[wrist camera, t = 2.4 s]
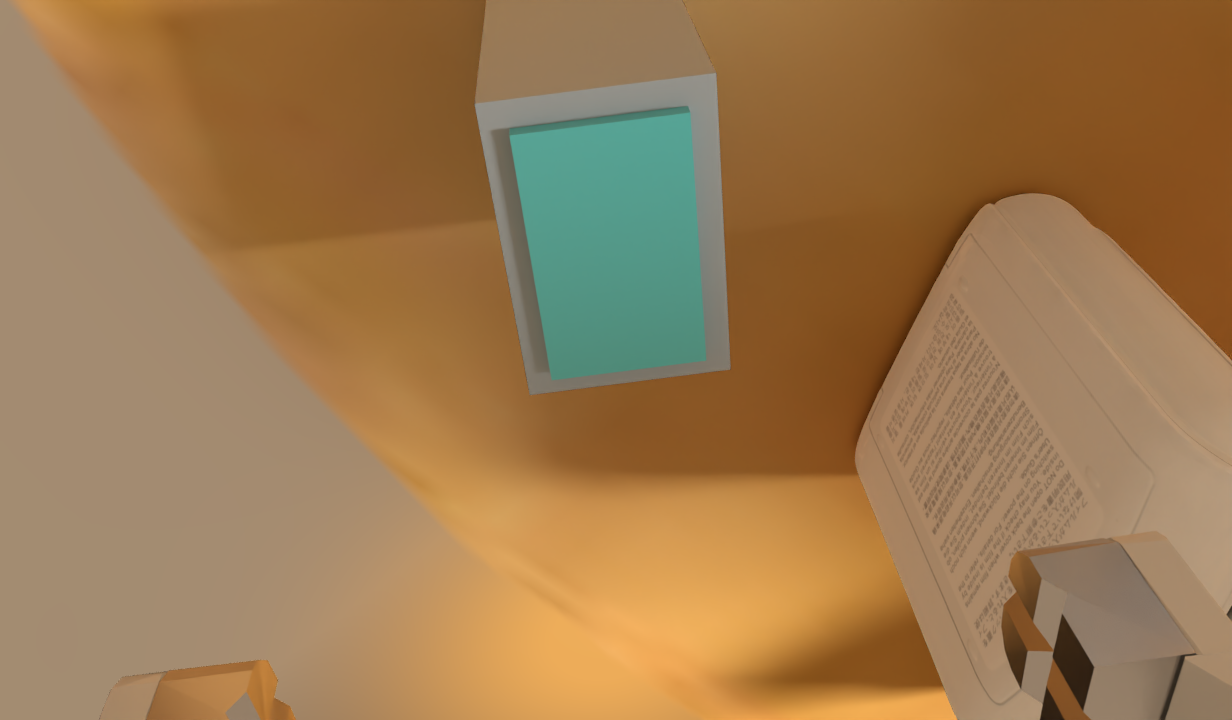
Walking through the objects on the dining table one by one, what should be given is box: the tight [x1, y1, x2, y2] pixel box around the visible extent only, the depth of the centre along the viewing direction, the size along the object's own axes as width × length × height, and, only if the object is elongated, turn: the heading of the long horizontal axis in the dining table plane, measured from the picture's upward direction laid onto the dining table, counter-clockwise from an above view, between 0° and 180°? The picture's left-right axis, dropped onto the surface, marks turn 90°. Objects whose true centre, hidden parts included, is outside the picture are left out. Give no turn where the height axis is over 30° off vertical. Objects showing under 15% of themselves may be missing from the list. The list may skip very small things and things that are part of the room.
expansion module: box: [474, 0, 731, 395], centre depth 22 cm, size 4×6×8 cm, turn 6°
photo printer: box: [855, 193, 1232, 720], centre depth 25 cm, size 10×4×12 cm, turn 165°
